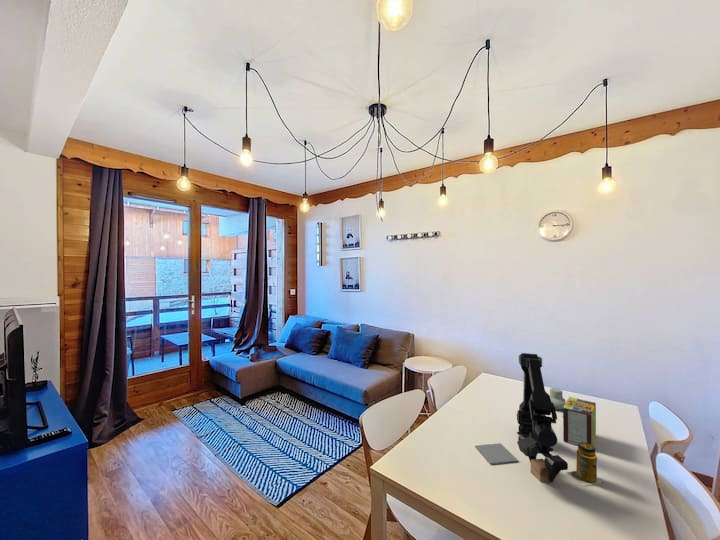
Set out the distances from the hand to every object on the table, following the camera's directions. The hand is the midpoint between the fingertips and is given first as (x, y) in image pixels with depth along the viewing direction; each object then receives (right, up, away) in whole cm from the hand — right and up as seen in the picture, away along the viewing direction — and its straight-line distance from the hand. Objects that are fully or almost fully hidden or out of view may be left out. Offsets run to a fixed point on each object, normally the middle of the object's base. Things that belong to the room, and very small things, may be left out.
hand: (541, 473), depth 114 cm
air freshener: (+41, -1, +55) cm, 69 cm away
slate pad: (-11, -1, +14) cm, 18 cm away
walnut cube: (0, -1, 0) cm, 1 cm away
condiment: (+15, -1, -1) cm, 15 cm away
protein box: (+32, -1, +25) cm, 40 cm away
